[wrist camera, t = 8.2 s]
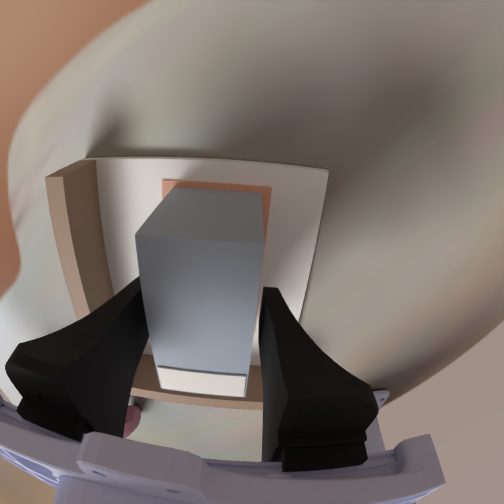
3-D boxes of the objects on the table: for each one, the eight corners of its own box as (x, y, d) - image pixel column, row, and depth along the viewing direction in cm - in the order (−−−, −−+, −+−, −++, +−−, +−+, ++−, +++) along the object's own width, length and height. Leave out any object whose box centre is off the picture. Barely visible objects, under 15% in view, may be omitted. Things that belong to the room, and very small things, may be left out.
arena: (283, 369, 20) (287, 410, 17) (120, 353, 19) (106, 389, 16) (326, 169, 13) (348, 191, 10) (84, 158, 13) (44, 177, 10)
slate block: (260, 192, 13) (265, 245, 9) (247, 326, 17) (245, 399, 13) (173, 187, 13) (133, 235, 9) (179, 320, 17) (160, 390, 12)
